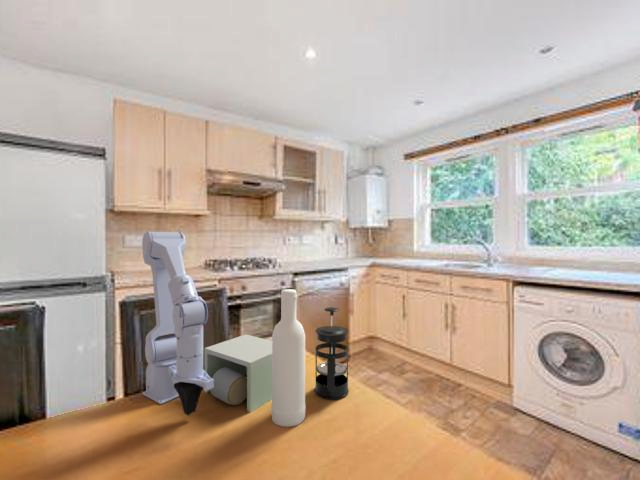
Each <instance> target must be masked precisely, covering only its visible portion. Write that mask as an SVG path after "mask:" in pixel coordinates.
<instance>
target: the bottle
mask: <svg viewBox="0 0 640 480" xmlns="http://www.w3.org/2000/svg"><path fill="white" fill-rule="evenodd" d="M280 293H281V294H280V302H281V303H280V311H281V312H280V315H281V316H280V320H279V322H278V323H276V324H275V325H274V328H273V331H272V335H271V338H272V339H271V341H272V399H271V402H272V403H271V419H272V422H273V423H274V425H275V424H276V425H277V426H279V427H284V428H290V427H295V426H299V425H300V424H301V423H302V422H304V421H305V418H306V409H307V408H306V332H305V330H304V329H305V328H304V327H303V324H302V323H301V322H300V321H299V320H298V319H297V304H298V303H297V302H298V301H297V299H298V294H297V293H298V292H297V290H296V289H293V288H289V289H281V291H280Z"/></svg>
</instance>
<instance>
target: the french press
mask: <svg viewBox="0 0 640 480" xmlns="http://www.w3.org/2000/svg"><path fill="white" fill-rule="evenodd" d="M323 311H326V312H329V313H330V314H329V316H331V317H330V319H331V320H330V325H326V326H325V325H324V326H320V327H317V328H316V329H315V333H316V335H317V337H316V338H317V340H318V341H319V342H322V343H320V344H317V345H316V346H315V387H314V393H315V395H316V396H317V397H318V398H321V399H322V400H323V399H324V400H329V401H334V400H335V401H336V400H341V399H343V398H346V397H347V396H348V395H349V392H350V391H349V390H350V389H349V347H348V346H347V345H345V344H343V343H342V342H345V341H346V340H347V334H348V333H349V330H348V329H347V328H346V327H343V326H338V325H337V326H336V325H334V324H333V318H334V317H333V316H335V315H334V312H335V313H336V312H339V311H340V308H338V307H332V306H331V307H326V308H324V309H323ZM326 348H329V349H328V350H329V351H328V352H322V351H320V350H322V349H326ZM336 348H338V349H341V350H344V351H343V352H339V353H336ZM318 357H319V358H322V359H327V362H323V363H320V364H318ZM345 357H346V365H345V364H343V363H339V362H336V360H337V359H343V358H345ZM317 374H318V375H317ZM345 374H346V375H345Z"/></svg>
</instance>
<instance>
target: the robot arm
mask: <svg viewBox="0 0 640 480" xmlns="http://www.w3.org/2000/svg"><path fill="white" fill-rule="evenodd" d="M142 236H143V237H142V242H141V244H142V259H143V261H144V264H146V265H149V266H150V269H151V273H152V274H151V275H152V286H153V298H154V310H155V322H156V323H155V324H156V325H155V326H154V327H153V328H152V329H151V330H150V331H149V332H148V333H147V334H146V337H145V346H144V353H145V354H144V355H145V360H146V362H147V363H148V364H147V367H146V370H145V391H143V392H142V395H143V396H145V397H147V398H148V399H150V400H152V401H154V402H155V403H157V404H160V405H163V404H165V403H167V402H169V401H172V400H174V399H177V398H179V399H180V403H181V406H182V410H183V412H184V415H187V416H190V415H191V414H193V413H196V410H197V407H198V403H199V399H200V395H201V393H202V392H203V391H204V390H205V391H207V390H210V389H212V388H214V379H212V378H211V377H210V376H209V375H208V374H207V373H206V372H205V368H204V325H206V324H207V322H208V319H209V311H208V306H207V303H206V301H205V300H204V299H203V298H202V296H199V294H198V292H197V289H196V286H195V283H194V280H193V277H192V276H190V275H187V273H186V267H185V264H184V263H185V262H184V257H183V256H184V253H185V249H186V245H187V239H186V236H185V234H184V232H182V231H178V232H177V231H176V232H175V231H173V232H171V231H145V232H144V234H143V235H142ZM172 334H174V335H172ZM166 335H168V336H166ZM169 335H170V336H169ZM162 336H164V337H162Z"/></svg>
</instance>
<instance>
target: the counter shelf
mask: <svg viewBox="0 0 640 480" xmlns="http://www.w3.org/2000/svg"><path fill="white" fill-rule="evenodd" d="M223 367H229V368H231V369H233V370H235V371H236V372H238V373H240V374H242V375H244V376H247V377H246V378H247V397H246V407H247V408H246V411H247V412H248V413H252V412H254V411H255V410H257V409H258V408H260V407H262V406H263V405H265V404H266V403H268V402H270V401H272V339H271V340H270V339H266V338H262V337H259V336H254V335H251V334H242V335H240V336H237V337H233V338H230V339H228V340H224V341H221V342H219V343H216V344H213V345H209V346H206V347H205V348H204V371H205V372H206V373H207V374H208V375H209V376H210V377H211V378H212V377H213V376H214V374H215V373H216V372H217V371H218V370H219V369H221V368H223ZM203 391H204V393H206V394H208V393H211V391H210V390H207V391H205V390H204V389H203Z"/></svg>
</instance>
